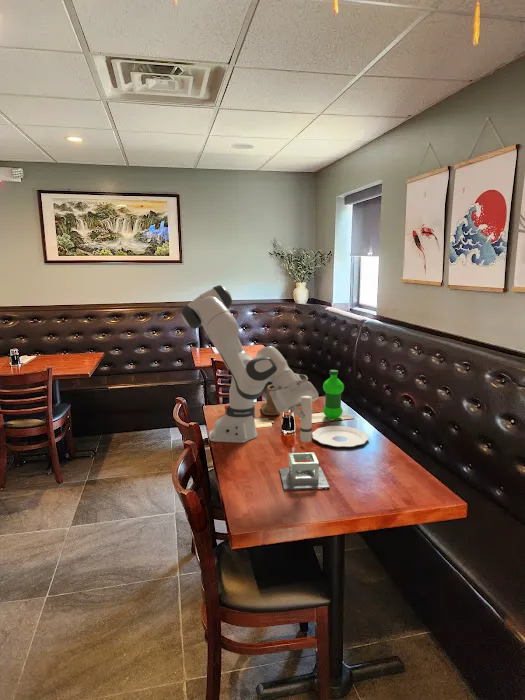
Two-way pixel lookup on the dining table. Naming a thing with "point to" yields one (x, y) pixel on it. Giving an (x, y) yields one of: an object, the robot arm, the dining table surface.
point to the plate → (352, 435)
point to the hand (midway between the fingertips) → (307, 415)
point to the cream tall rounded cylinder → (306, 419)
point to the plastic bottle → (333, 396)
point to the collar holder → (303, 473)
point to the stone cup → (269, 404)
